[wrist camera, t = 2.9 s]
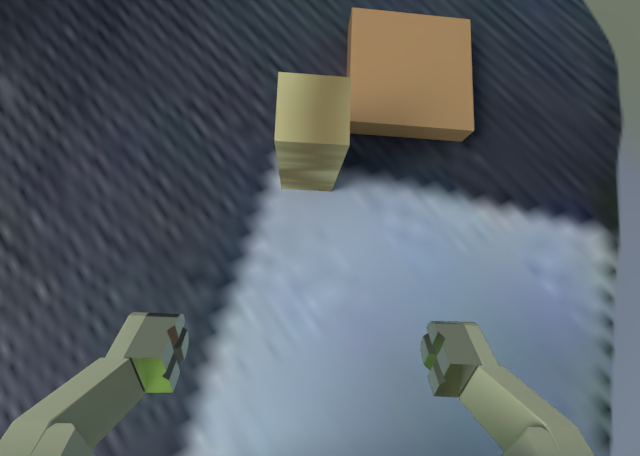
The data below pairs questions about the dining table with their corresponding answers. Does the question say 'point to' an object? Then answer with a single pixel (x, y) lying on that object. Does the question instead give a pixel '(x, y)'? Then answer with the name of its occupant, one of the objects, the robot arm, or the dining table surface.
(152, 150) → the dining table surface
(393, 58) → the tile
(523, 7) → the dining table surface
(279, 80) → the post
